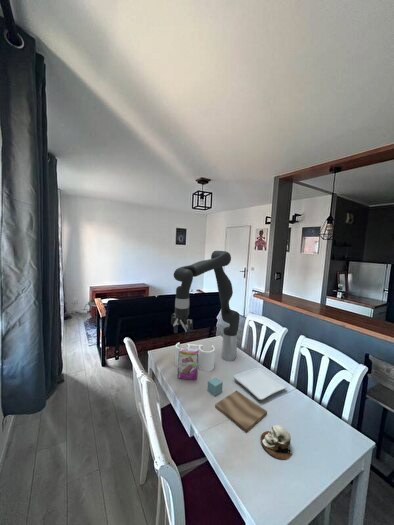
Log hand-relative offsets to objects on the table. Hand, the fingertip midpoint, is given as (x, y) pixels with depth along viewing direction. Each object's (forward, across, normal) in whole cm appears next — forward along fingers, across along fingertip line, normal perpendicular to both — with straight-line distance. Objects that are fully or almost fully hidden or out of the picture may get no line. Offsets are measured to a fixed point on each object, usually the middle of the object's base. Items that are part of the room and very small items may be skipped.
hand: (181, 335), depth 118 cm
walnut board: (+28, -34, -7) cm, 45 cm away
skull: (+28, -54, -2) cm, 61 cm away
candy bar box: (+28, +1, -7) cm, 29 cm away
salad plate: (+29, -32, -31) cm, 53 cm away
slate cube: (+28, -17, -9) cm, 34 cm away
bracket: (+28, +7, -19) cm, 35 cm away
